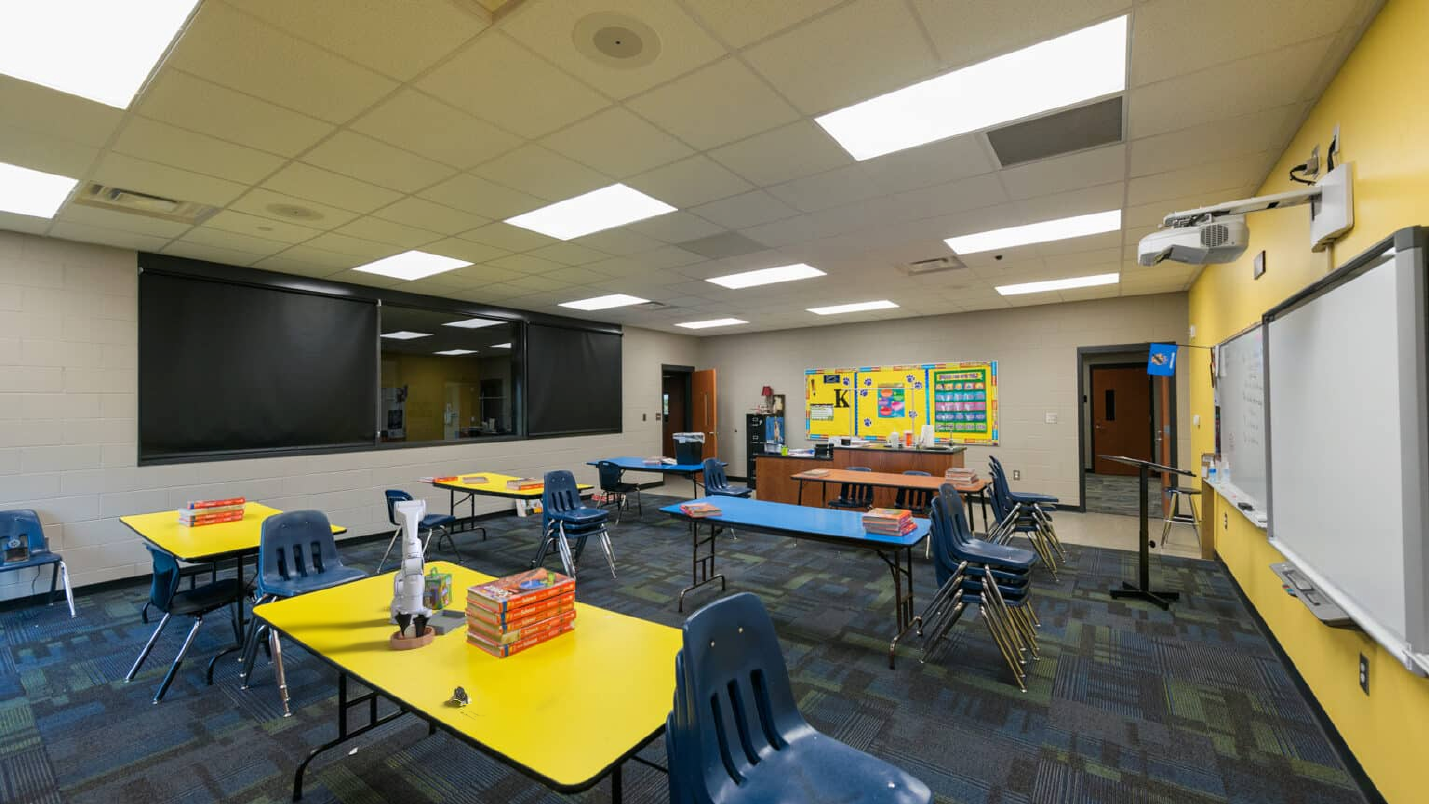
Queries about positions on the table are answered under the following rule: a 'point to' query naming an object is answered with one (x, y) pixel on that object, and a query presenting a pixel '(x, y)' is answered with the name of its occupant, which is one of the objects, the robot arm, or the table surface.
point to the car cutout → (460, 695)
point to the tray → (446, 620)
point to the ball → (410, 632)
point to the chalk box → (437, 590)
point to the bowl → (411, 640)
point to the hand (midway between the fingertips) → (412, 636)
